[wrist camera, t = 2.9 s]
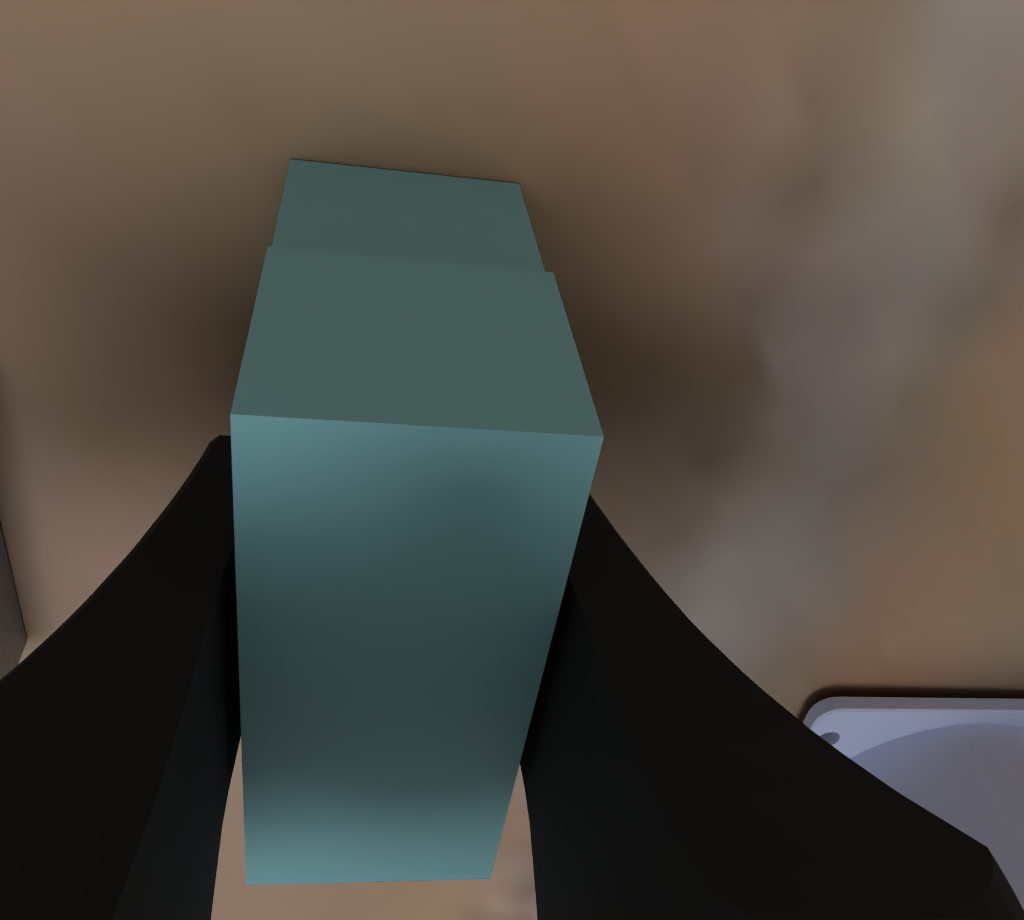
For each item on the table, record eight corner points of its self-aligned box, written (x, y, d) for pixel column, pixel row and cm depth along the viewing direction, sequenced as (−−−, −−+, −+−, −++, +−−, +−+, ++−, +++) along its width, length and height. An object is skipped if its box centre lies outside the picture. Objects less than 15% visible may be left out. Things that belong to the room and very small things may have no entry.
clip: (460, 553, 17) (489, 879, 12) (286, 547, 16) (246, 885, 11) (521, 168, 13) (603, 437, 8) (290, 144, 12) (229, 413, 7)
